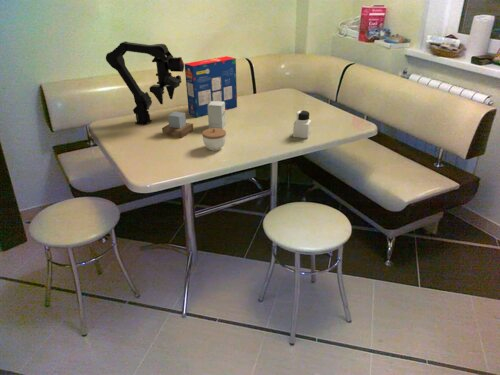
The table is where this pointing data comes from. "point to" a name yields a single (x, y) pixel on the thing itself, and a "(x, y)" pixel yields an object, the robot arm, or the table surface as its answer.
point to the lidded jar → (214, 138)
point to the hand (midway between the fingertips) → (166, 101)
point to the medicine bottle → (302, 125)
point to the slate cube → (177, 120)
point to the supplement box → (216, 114)
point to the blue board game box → (210, 84)
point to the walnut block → (177, 130)
